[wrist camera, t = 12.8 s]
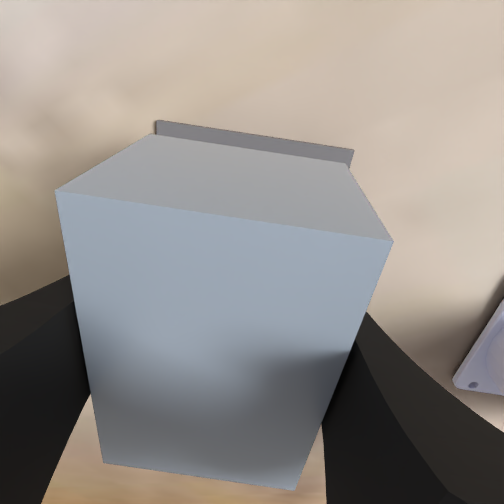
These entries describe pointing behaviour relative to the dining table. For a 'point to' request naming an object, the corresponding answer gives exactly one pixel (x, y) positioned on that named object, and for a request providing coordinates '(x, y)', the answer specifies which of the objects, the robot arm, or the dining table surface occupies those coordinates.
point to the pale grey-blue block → (217, 302)
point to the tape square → (255, 142)
